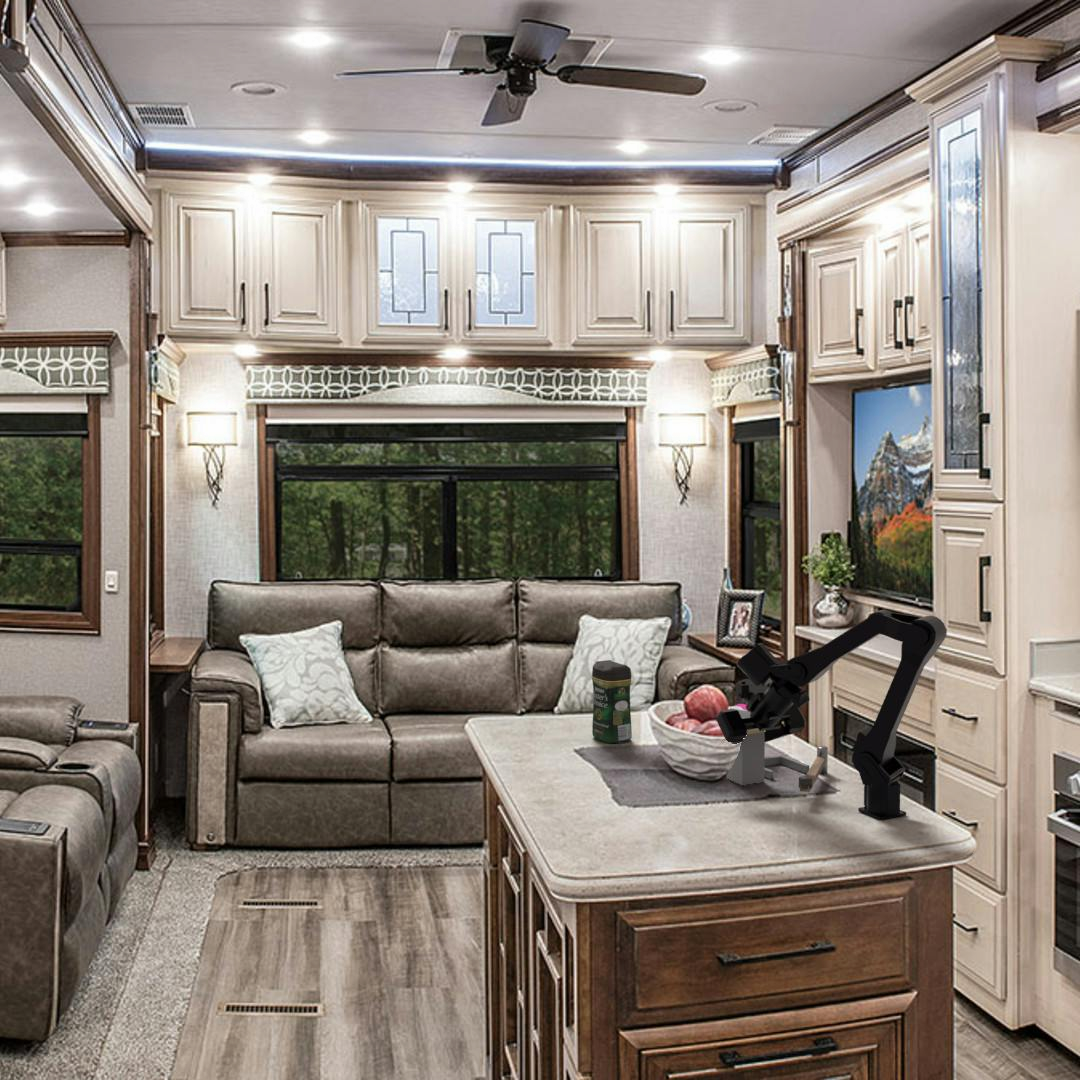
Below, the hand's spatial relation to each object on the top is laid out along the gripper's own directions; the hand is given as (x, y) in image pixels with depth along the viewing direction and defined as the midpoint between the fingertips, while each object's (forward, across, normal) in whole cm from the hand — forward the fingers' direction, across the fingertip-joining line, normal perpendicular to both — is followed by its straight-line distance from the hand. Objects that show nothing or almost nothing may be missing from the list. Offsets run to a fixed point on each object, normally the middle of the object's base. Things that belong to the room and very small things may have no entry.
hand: (744, 743), depth 256 cm
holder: (+7, -10, +4) cm, 13 cm away
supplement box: (+16, -10, -5) cm, 19 cm away
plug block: (+5, 0, +6) cm, 8 cm away
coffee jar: (+35, +8, -24) cm, 44 cm away
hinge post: (+3, -17, +8) cm, 19 cm away
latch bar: (-5, -8, +12) cm, 15 cm away
